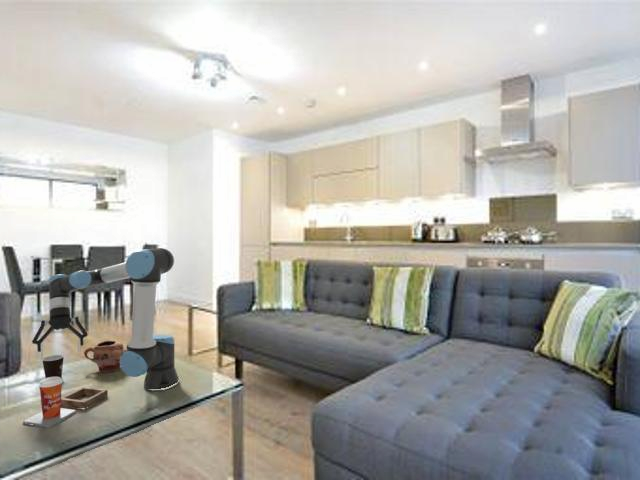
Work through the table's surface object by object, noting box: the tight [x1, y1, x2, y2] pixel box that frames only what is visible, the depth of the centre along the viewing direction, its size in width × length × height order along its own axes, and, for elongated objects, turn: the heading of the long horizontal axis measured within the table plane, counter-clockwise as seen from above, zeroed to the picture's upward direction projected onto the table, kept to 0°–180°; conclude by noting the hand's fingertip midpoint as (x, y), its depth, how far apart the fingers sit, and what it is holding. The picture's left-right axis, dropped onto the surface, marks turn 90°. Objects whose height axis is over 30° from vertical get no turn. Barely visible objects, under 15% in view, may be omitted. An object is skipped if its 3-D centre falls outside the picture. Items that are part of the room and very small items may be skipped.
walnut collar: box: [61, 386, 108, 410], centre depth 167 cm, size 12×12×3 cm
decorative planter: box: [83, 340, 127, 373], centre depth 202 cm, size 20×12×14 cm, turn 106°
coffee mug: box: [41, 354, 65, 379], centre depth 192 cm, size 12×9×10 cm
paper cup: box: [38, 377, 64, 419], centre depth 152 cm, size 8×8×14 cm
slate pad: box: [22, 407, 77, 429], centre depth 152 cm, size 12×12×1 cm
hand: (61, 356), depth 170 cm, fingers open, 13 cm apart
